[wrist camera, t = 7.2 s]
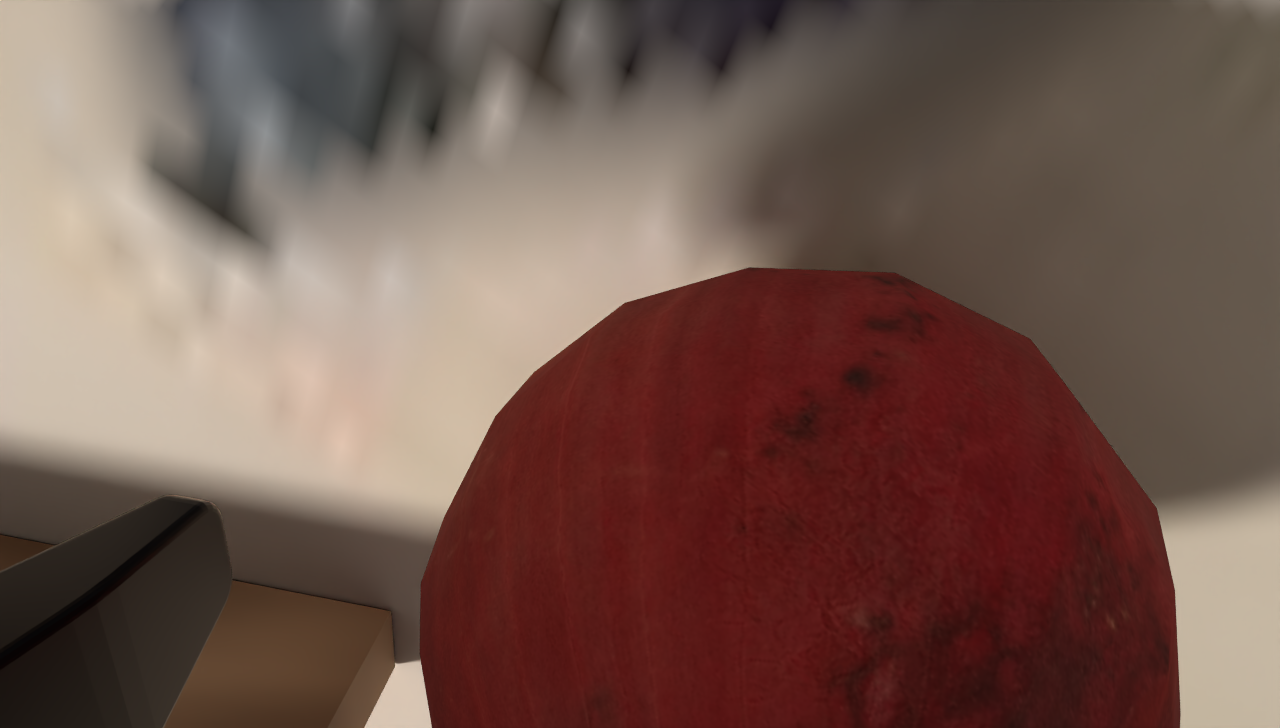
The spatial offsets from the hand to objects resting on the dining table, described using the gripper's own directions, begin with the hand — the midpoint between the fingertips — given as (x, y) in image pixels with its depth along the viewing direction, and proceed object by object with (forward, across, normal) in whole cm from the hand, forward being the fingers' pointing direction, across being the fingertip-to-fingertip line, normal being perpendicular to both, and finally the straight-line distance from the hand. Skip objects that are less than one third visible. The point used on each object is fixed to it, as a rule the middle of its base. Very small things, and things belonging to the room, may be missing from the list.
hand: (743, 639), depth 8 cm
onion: (+4, 0, 0) cm, 4 cm away
